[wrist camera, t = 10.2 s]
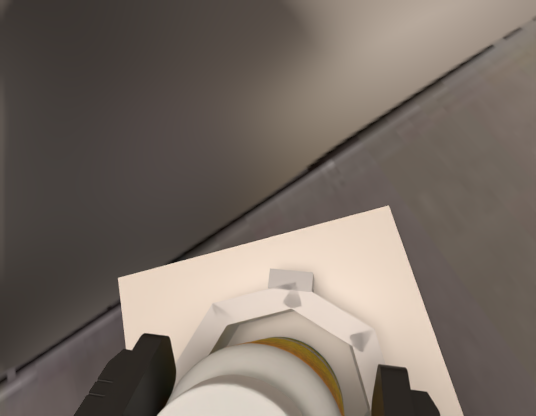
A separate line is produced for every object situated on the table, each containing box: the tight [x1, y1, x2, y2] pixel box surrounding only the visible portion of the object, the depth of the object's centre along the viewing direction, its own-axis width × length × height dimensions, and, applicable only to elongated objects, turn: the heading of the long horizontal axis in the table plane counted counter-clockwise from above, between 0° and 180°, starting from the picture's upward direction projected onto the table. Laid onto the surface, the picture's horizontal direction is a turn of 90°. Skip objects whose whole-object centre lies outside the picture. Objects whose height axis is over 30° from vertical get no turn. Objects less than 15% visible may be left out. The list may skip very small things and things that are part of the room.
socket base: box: [118, 206, 463, 416], centre depth 16 cm, size 14×14×4 cm
